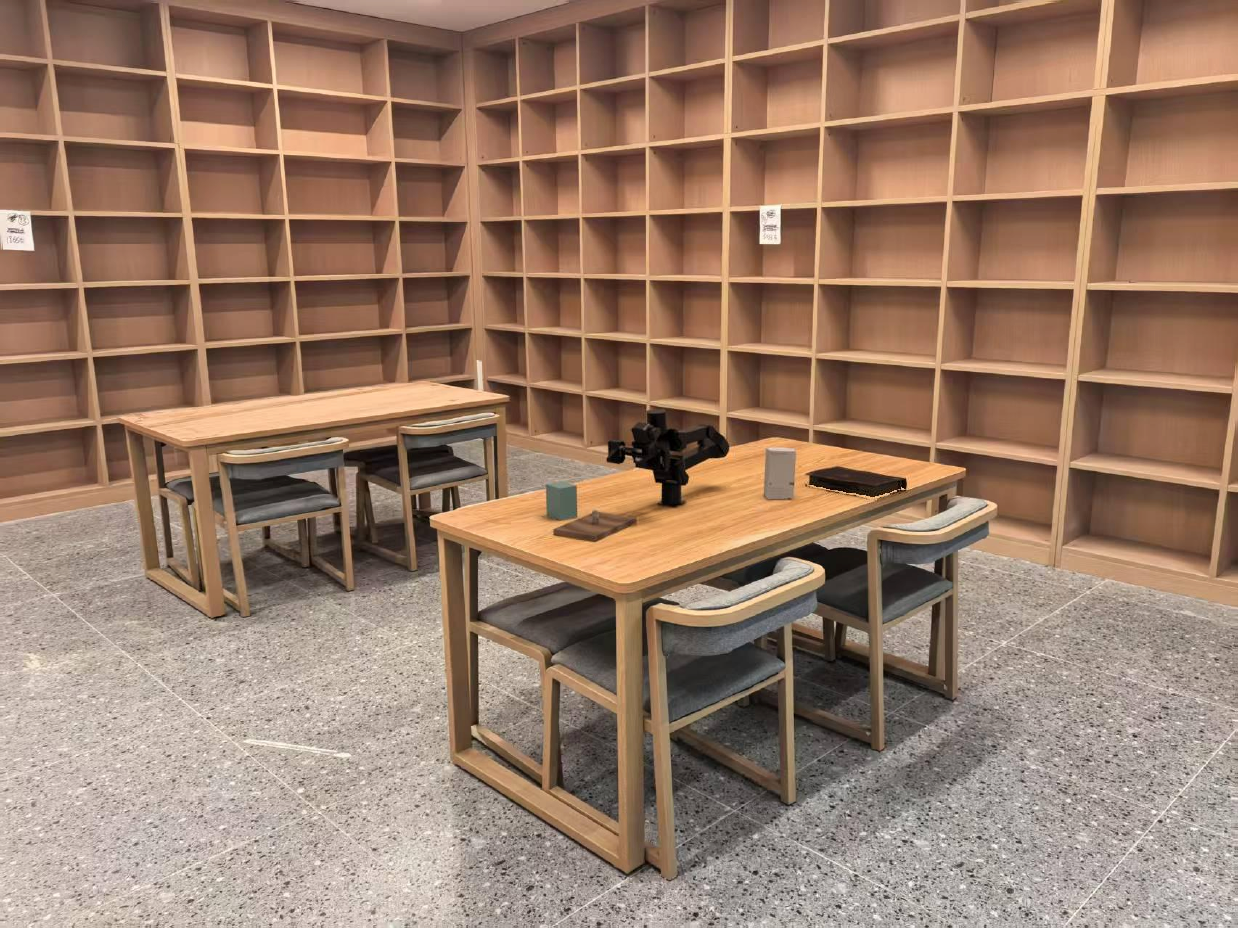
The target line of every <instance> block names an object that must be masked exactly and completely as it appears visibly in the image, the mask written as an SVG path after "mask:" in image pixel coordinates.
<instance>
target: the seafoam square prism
mask: <svg viewBox="0 0 1238 928" xmlns="http://www.w3.org/2000/svg"><path fill="white" fill-rule="evenodd" d="M545 500H546V502H545V504H546V506H545V507H546V509H545V510H546V516H547V517H549V516H550V518H553V519H555V520H557V519H558V521H560V522H561V521H565V520H571V519H575V518H577V519H578V486H577V485H575V484H572V483H569V482H567V481H563V480H562V481H557V482H550V483H546V484H545Z"/></svg>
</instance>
